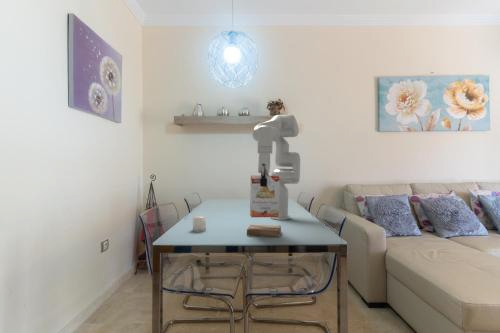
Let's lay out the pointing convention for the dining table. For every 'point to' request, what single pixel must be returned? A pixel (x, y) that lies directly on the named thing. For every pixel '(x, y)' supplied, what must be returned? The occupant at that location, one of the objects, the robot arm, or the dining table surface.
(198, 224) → the white small block
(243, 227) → the dining table surface
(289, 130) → the robot arm
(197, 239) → the dining table surface
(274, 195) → the cracker box
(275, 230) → the plinth
